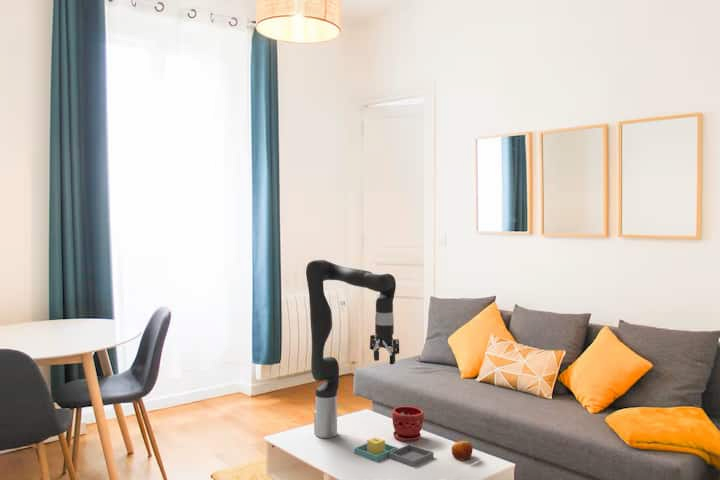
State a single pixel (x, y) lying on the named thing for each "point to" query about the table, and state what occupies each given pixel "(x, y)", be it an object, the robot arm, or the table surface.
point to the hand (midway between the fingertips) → (384, 362)
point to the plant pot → (407, 423)
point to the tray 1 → (363, 452)
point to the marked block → (376, 446)
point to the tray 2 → (411, 455)
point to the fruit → (462, 450)
